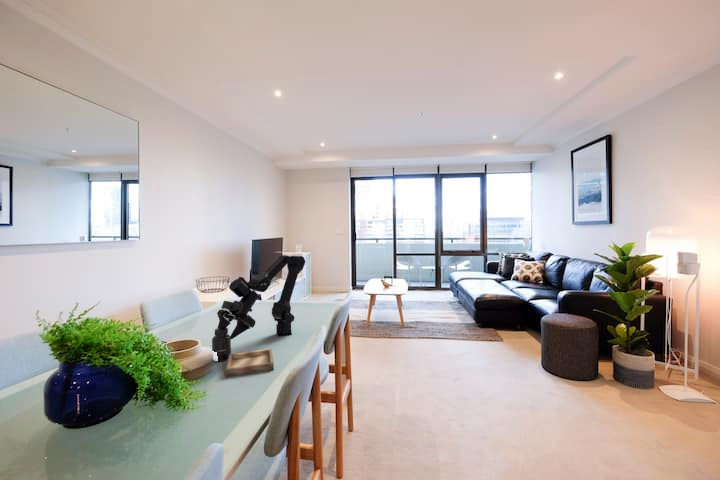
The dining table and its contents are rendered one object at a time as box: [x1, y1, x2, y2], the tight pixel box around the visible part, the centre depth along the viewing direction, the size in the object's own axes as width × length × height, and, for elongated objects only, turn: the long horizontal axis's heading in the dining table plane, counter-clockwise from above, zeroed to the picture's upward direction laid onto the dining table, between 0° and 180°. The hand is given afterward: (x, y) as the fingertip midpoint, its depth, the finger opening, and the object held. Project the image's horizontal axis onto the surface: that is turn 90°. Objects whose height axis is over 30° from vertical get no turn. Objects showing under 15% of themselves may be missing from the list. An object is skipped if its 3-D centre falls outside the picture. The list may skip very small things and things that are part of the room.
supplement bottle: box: [211, 327, 232, 363], centre depth 124 cm, size 7×7×12 cm
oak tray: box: [225, 348, 275, 378], centre depth 118 cm, size 16×14×2 cm
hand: (223, 336), depth 124 cm, fingers open, 9 cm apart
